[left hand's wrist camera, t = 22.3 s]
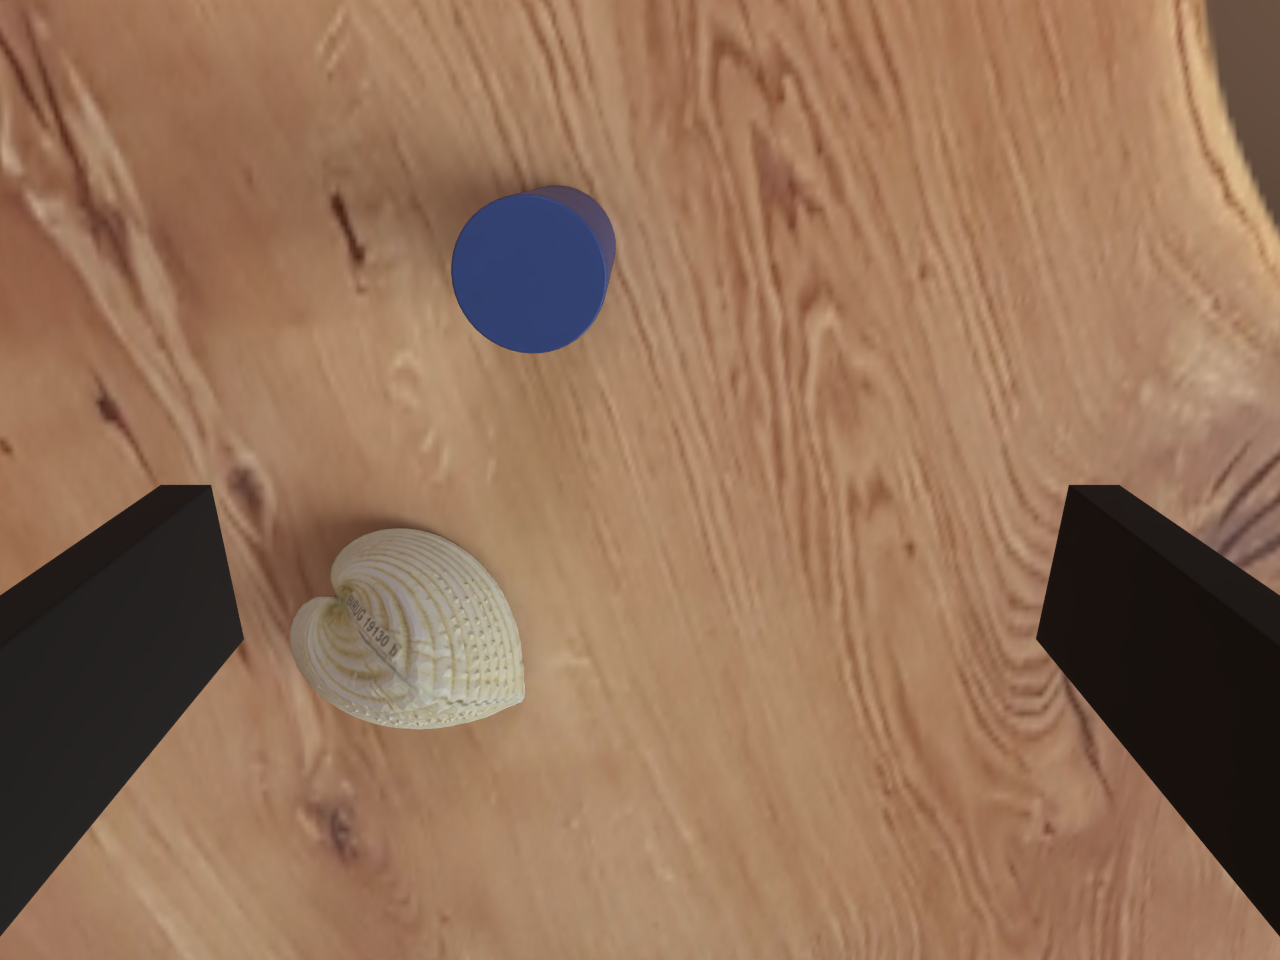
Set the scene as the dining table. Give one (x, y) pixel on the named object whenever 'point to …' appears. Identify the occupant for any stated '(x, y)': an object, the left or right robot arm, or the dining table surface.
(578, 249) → the cylinder
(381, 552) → the seashell
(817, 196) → the dining table surface
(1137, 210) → the dining table surface
